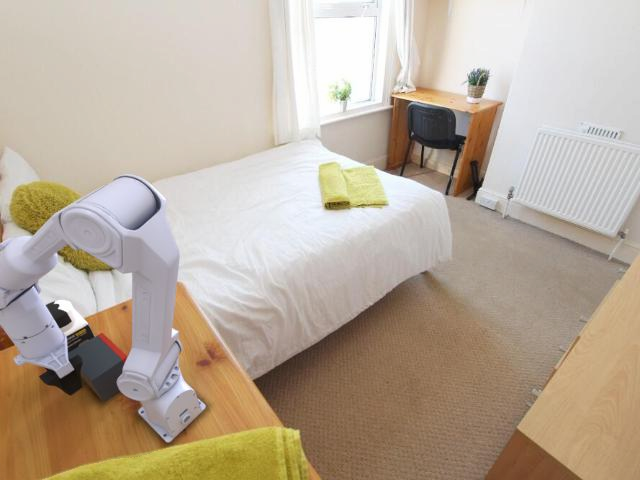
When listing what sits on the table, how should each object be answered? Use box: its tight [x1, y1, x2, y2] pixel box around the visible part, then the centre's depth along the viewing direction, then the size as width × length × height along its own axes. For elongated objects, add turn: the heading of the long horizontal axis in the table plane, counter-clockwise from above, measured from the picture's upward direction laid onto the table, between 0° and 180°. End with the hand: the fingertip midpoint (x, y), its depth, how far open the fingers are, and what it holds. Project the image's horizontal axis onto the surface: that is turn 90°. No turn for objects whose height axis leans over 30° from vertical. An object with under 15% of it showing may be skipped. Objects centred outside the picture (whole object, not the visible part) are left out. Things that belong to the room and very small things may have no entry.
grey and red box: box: [68, 332, 128, 403], centre depth 66 cm, size 10×7×7 cm
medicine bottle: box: [45, 299, 96, 360], centre depth 70 cm, size 7×7×12 cm
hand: (66, 379), depth 60 cm, fingers open, 7 cm apart
